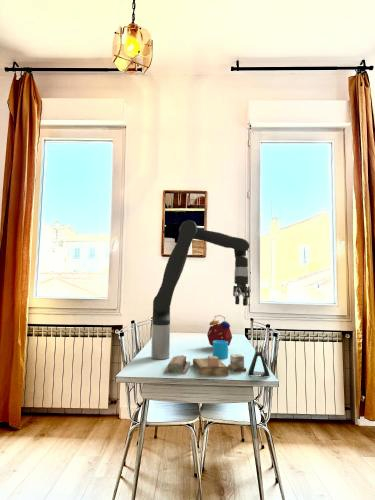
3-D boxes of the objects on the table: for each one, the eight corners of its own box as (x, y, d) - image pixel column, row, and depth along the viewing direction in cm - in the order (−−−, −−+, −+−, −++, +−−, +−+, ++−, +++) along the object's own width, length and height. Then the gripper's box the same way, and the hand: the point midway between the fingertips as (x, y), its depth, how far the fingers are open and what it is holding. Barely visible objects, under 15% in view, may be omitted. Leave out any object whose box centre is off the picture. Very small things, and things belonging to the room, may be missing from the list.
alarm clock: (232, 349, 201) (232, 315, 202) (223, 351, 194) (223, 316, 196) (213, 345, 211) (213, 313, 213) (204, 347, 204) (204, 314, 206)
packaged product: (186, 363, 147) (164, 362, 148) (186, 375, 146) (163, 374, 148) (190, 354, 165) (170, 354, 166) (190, 364, 164) (170, 364, 165)
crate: (209, 367, 146) (209, 358, 146) (207, 365, 150) (207, 356, 150) (218, 367, 147) (218, 358, 147) (216, 365, 151) (216, 356, 151)
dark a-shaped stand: (268, 373, 150) (268, 345, 151) (269, 376, 144) (269, 348, 146) (248, 371, 152) (248, 344, 153) (248, 375, 146) (248, 347, 147)
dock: (201, 376, 144) (201, 367, 144) (192, 365, 162) (192, 357, 163) (228, 375, 146) (228, 366, 146) (216, 364, 164) (216, 356, 165)
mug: (226, 359, 175) (226, 343, 176) (211, 358, 178) (211, 342, 178) (230, 354, 187) (230, 339, 188) (215, 353, 189) (215, 338, 190)
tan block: (233, 372, 151) (233, 357, 152) (228, 367, 159) (228, 353, 160) (246, 371, 152) (246, 357, 153) (240, 367, 160) (240, 353, 161)
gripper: (229, 275, 191) (228, 304, 190) (241, 275, 178) (241, 306, 176) (240, 275, 194) (240, 304, 192) (254, 275, 180) (253, 306, 179)
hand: (241, 305), depth 184 cm, fingers open, 8 cm apart
